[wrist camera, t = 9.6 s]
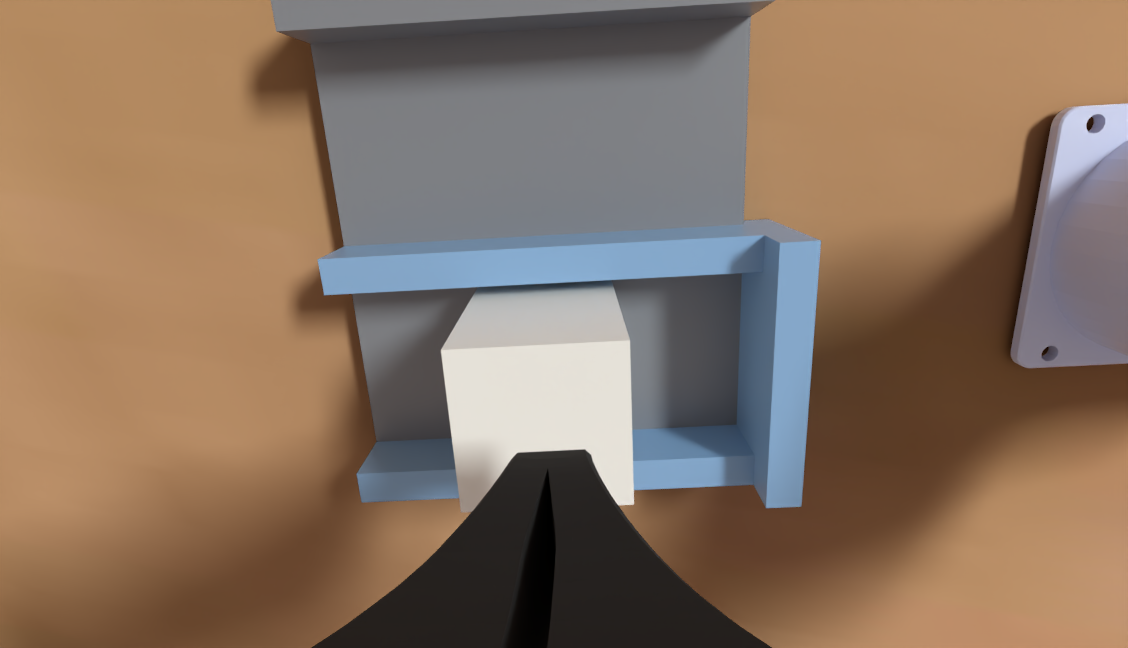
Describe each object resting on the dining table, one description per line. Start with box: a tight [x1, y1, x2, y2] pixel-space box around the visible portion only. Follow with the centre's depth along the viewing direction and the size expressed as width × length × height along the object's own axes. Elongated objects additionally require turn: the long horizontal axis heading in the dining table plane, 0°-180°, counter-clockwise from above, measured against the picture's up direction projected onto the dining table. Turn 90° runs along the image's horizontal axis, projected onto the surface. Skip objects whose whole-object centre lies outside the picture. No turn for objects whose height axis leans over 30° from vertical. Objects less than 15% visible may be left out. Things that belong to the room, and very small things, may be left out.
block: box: [441, 280, 634, 512], centre depth 16 cm, size 4×4×6 cm
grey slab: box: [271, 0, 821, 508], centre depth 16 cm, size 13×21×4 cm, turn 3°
